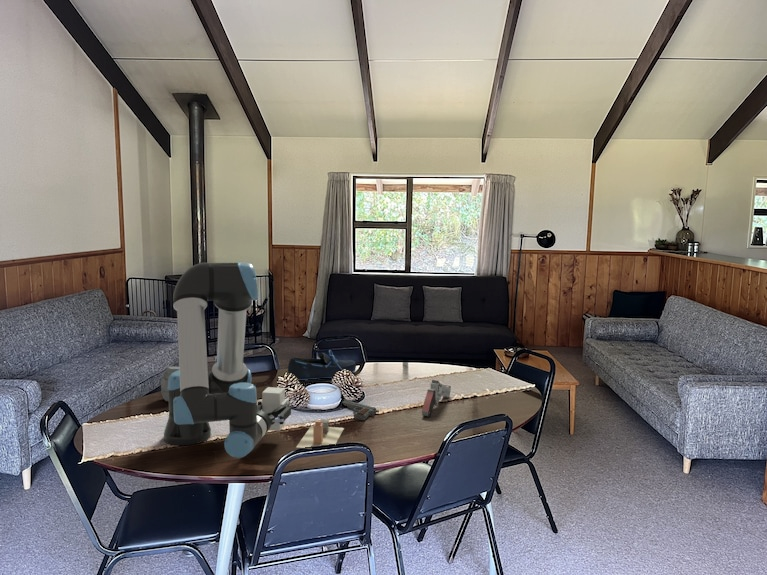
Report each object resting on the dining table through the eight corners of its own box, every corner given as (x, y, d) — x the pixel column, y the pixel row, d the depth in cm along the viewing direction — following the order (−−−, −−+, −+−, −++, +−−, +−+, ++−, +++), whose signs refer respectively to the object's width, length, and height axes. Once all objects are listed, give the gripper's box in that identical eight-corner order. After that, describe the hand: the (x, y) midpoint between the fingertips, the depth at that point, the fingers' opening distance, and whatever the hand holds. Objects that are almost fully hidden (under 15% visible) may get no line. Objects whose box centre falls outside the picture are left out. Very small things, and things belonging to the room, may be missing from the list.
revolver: (419, 415, 219) (425, 375, 223) (439, 420, 245) (444, 385, 249) (429, 416, 218) (434, 377, 221) (447, 421, 244) (452, 386, 248)
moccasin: (362, 375, 279) (362, 351, 278) (297, 385, 260) (297, 360, 259) (347, 369, 291) (348, 346, 289) (284, 378, 272) (284, 354, 270)
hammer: (253, 366, 260) (162, 365, 236) (260, 370, 254) (167, 369, 230) (249, 395, 260) (158, 397, 236) (256, 400, 254) (163, 402, 230)
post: (321, 443, 188) (321, 422, 188) (313, 443, 189) (313, 422, 188) (322, 440, 191) (323, 419, 190) (315, 440, 191) (315, 419, 190)
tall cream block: (279, 431, 187) (279, 393, 185) (262, 429, 187) (262, 392, 186) (284, 424, 192) (284, 388, 191) (268, 423, 193) (267, 387, 191)
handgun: (327, 412, 226) (348, 405, 235) (363, 422, 214) (383, 414, 223) (327, 405, 225) (348, 398, 235) (363, 415, 214) (383, 407, 223)
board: (332, 453, 184) (332, 437, 183) (295, 450, 185) (295, 435, 185) (344, 431, 204) (344, 416, 203) (311, 429, 205) (311, 415, 204)
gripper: (225, 436, 173) (251, 410, 196) (285, 440, 171) (305, 414, 193) (224, 412, 172) (251, 389, 195) (285, 416, 170) (305, 392, 192)
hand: (278, 401), depth 194 cm, fingers closed on tall cream block, 6 cm apart
